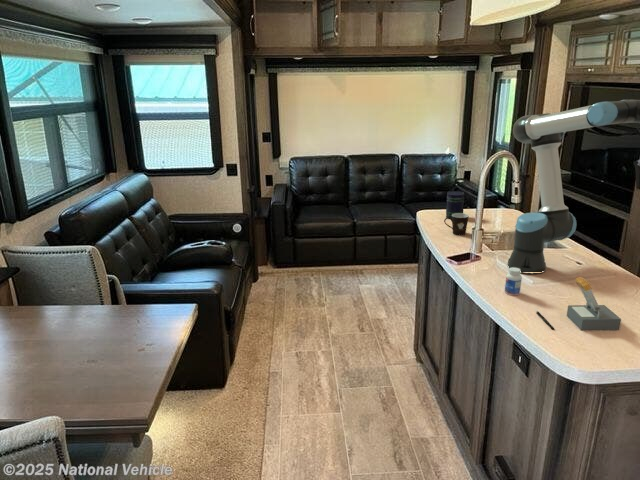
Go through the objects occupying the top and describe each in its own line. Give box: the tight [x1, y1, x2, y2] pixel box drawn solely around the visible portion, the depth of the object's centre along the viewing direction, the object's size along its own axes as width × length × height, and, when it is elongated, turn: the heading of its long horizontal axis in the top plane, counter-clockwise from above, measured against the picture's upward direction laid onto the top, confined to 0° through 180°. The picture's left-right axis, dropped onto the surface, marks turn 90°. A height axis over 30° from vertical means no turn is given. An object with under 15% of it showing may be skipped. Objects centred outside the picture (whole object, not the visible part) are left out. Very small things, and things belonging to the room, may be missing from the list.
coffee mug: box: [444, 212, 470, 236], centre depth 248 cm, size 12×9×10 cm
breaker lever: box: [574, 276, 601, 314], centre depth 152 cm, size 2×6×12 cm
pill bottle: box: [504, 267, 523, 296], centre depth 177 cm, size 6×5×10 cm
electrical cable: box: [535, 310, 555, 331], centre depth 158 cm, size 12×1×1 cm, turn 0°
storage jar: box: [445, 190, 465, 219], centre depth 275 cm, size 10×10×15 cm
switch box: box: [566, 302, 622, 332], centre depth 154 cm, size 12×10×6 cm
